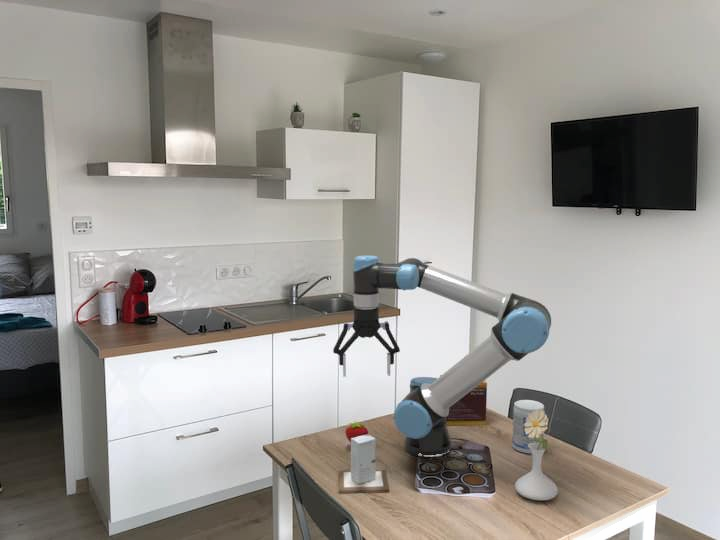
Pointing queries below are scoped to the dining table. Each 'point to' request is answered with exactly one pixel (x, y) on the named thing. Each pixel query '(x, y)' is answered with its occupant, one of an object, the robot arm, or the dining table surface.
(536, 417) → the flower in vase
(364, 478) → the skincare box
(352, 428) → the strawberry
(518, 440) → the supplement tub
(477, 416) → the supplement box
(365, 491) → the tray with cross mark
